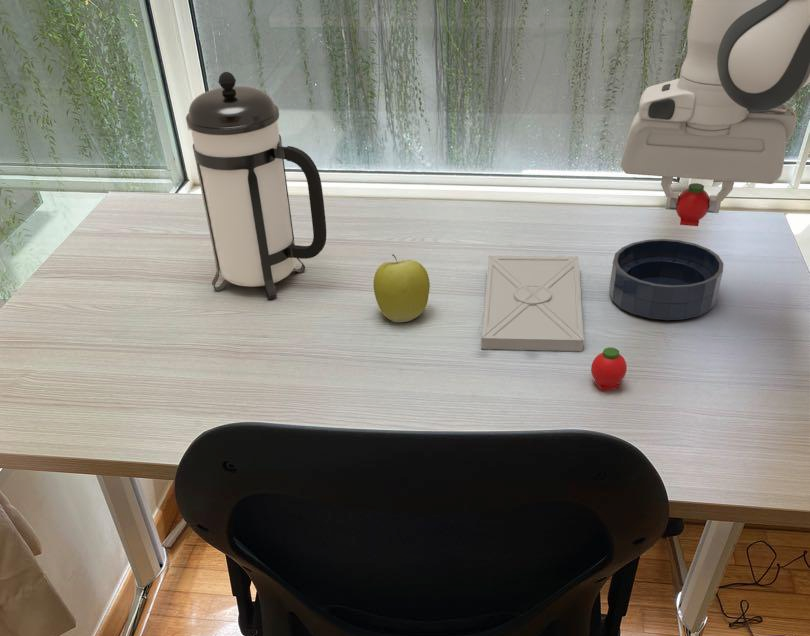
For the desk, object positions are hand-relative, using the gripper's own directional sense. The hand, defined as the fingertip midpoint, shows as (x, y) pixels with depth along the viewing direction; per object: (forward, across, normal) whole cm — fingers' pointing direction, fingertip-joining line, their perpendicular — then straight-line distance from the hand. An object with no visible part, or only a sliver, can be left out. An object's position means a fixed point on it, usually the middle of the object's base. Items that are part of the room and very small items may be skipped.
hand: (691, 209), depth 118 cm
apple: (+14, +38, +12) cm, 42 cm away
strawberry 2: (+14, +7, +24) cm, 28 cm away
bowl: (+14, +2, -1) cm, 14 cm away
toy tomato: (+2, 0, 0) cm, 2 cm away
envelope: (+14, +20, +6) cm, 25 cm away
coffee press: (+14, +62, +6) cm, 64 cm away
